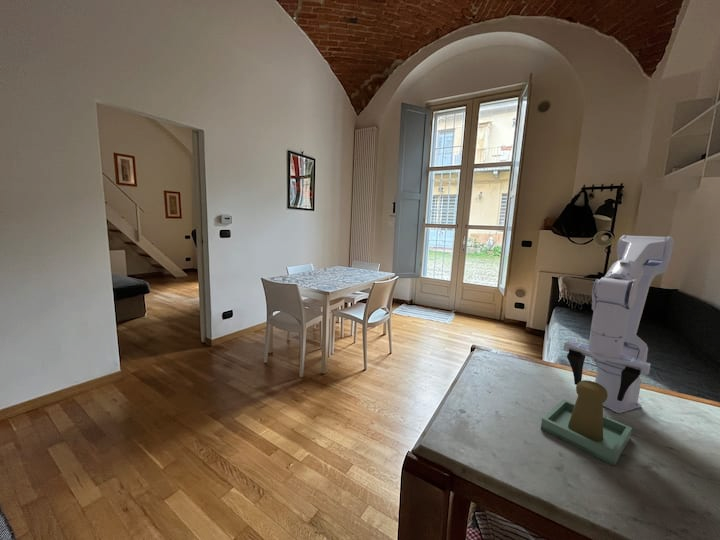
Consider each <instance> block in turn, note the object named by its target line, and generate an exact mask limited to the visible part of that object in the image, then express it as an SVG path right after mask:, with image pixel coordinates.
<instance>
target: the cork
mask: <svg viewBox="0 0 720 540" xmlns="http://www.w3.org/2000/svg"><path fill="white" fill-rule="evenodd" d="M575 390H576V394H577V397H576V400H575V403H574V404H575V406H574V409H573V412H572V415H571V418H570V421H569V424H568V428H569V429H570V430H572V431H574V432H576V433H578V434H580V435H582V436H584V437H586V438H588V439H591V440H593V441H595V442H599V441H602V440H603V416H604V410H603V409H604V406H603V403H604V402H605V401H606V399H607V396H608V395H607V391H606V389H605V388H604V387H603V386H602V385H600V384H598V383H596V382H595V381H592V380H585V379H584V380H583V379H582V380H581V381H580V382H579V383H577V385H575Z"/></svg>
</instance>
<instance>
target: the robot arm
mask: <svg viewBox="0 0 720 540" xmlns="http://www.w3.org/2000/svg"><path fill="white" fill-rule="evenodd" d="M674 242H675V241H674V238H673V237H672V236H669V235H668V236H653V235H652V236H651V235H649V236H646V235H626V234H623V235H622V236H620V237H619V238H618V241H617V244H616V257H617V261H614V262H613V263H612V264H611V265H610V267H609V269H608V271H606V273H605V275H604V276H601V278H600V279H599V278H596V279H595V281H594V282H593V286H592V291H591V300H592V301H591V310H592V311H593V313H592V320H591V325H590V331H589V333H590V334H589V339H588V344H585V343H579V342H574V341H570V340H566V341H565V342H564V345H563V351H565V352H568V354H567V355H566V358H567V360H568V363H569V364H570V367H571V369H572V374H573V380H574V381H573V382H574V385H575V386H576V385H577V383H579V382H580V381H583V379H582V378H583V369H584V363H585V360H586V357H589V358H591V360H592V362H594V363H595V365H594V366H595V367H597V368H596V373H595V380H594V382H596V383H598V384H600V385H602V386H603V387H604V388H605V389H606V391H607V395H608V396H607V399H606V401H605V402H604V403H603V407H605V408H607V409H608V410H611V411H612V412H615V413H616V414H622V413H624V412H628V411H631V410H635V409H638V408H642V406H643V404H641V403H639V396H640V391H641V387H642V386H641V385H642V379H641V376H640V375H645V376H648V375H649V373H650V371H651V366H652V365H651V363H650V362H647V360H648V353H649V347H648V344H647V343H646V342H645V341H644V340H642V339H641V337H639V336H638V335H637V333H638V330H639V326H640V321H641V318H642V315H643V311H644V308H645V305H646V301H647V296H648V295H649V294H648V293H649V289H650V286H651V284H652V282H653V280H654V279H655V277H656V276H658V275H661V274H665V273H666V272H667V269H668V268H669V265H670V261H671V257H672V253H673V251H674Z"/></svg>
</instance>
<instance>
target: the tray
mask: <svg viewBox="0 0 720 540" xmlns="http://www.w3.org/2000/svg"><path fill="white" fill-rule="evenodd" d="M574 406H575V403H574V402H571V401H569V400H567V399H565V398H563V399H562V400H561V401H560V402H559V403H558V404H556V405H555V406H554V407H553V408H552V409H550V411H549V412H547V413H546V414H545V415H544V416H543V417H541V424H540V430H543V431H544V432H547V433H549V434H550V435H553V436H554V437H556V438H558V439H560V440H562V441H564V442H565V443H568V444H570V445H572V446H574V447H576V448H578V449H580V450H581V451H584V452H586V453H587V454H590V455H591V456H593V457H595V458H597V459H599V460H601V461H602V462H605V463H607V464H609V465H610V466H613V467H615V466H616V464H617V462H618V461H619V458H620V456H622V454H623V452H624V450H625V448H626V446H627V444H628V443H629V441H630V439H631V436H632V430H633V427H631V426H629V425H628V424H627V425H626V424H625V423H622V422H619V421H617V420H615V419H612V418H610V417H608V416H606V415H603V440H602V441H599V442H595V441H593V440H591V439H588V438H586V437H584V436H582V435H580V434H578V433H576V432H574V431H572V430H570V429H569V428H568V424H569V421H570V418H571V415H572V412H573V409H574Z"/></svg>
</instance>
